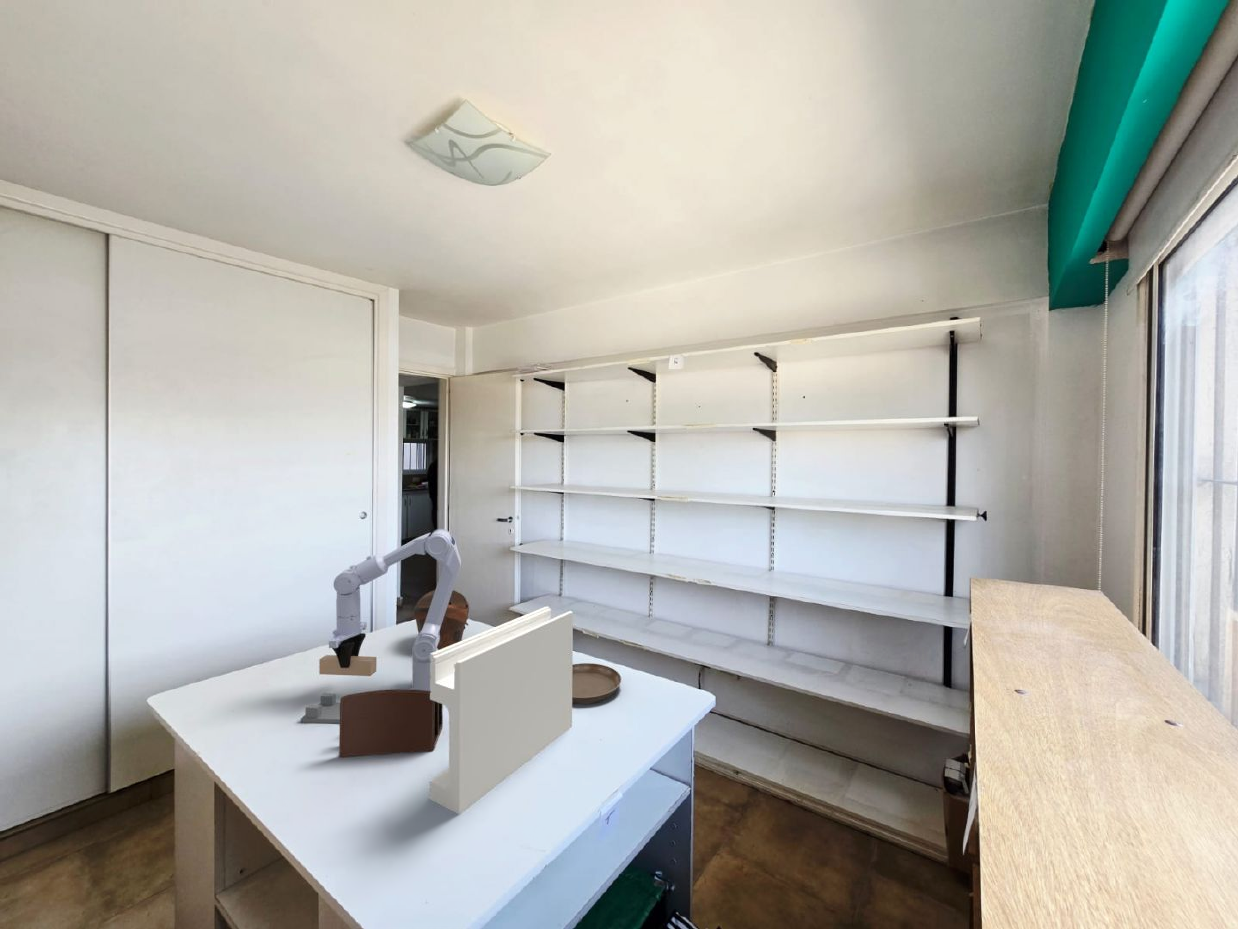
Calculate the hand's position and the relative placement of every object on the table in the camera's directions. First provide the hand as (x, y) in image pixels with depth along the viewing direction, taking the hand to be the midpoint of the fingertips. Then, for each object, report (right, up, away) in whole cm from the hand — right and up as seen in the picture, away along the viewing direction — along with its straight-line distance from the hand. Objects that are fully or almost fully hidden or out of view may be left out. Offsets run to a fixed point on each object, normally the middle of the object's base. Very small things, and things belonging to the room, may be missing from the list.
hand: (348, 664), depth 137 cm
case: (+13, -8, +35) cm, 38 cm away
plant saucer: (+63, -9, +5) cm, 64 cm away
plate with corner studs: (+4, -9, -10) cm, 14 cm away
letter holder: (+22, -10, -21) cm, 32 cm away
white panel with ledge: (+49, -10, -27) cm, 57 cm away
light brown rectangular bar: (0, -2, 0) cm, 2 cm away
